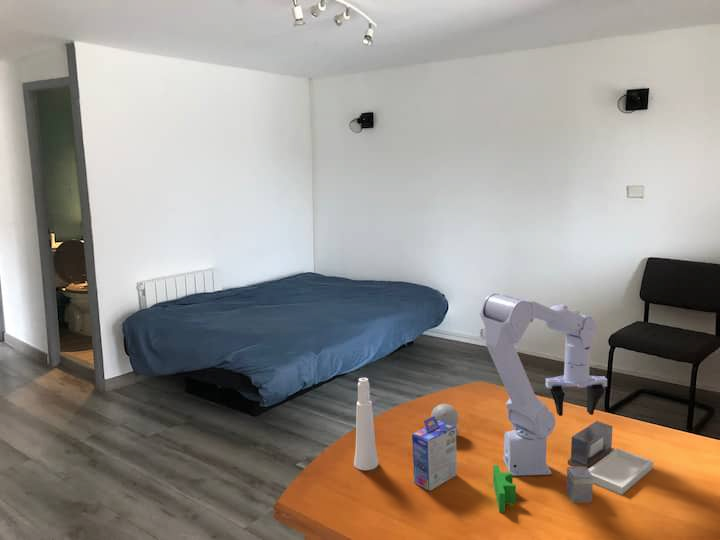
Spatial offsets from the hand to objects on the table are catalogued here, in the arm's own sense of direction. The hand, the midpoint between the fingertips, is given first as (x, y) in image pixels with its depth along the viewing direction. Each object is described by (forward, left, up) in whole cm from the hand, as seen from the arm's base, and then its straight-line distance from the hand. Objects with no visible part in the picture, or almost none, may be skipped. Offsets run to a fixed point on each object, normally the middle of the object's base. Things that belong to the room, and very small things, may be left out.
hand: (574, 413), depth 140 cm
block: (-6, -21, -9) cm, 23 cm away
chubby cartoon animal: (-31, +10, -10) cm, 34 cm away
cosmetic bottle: (-52, -5, -10) cm, 53 cm away
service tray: (+6, -12, -9) cm, 16 cm away
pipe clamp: (-22, -20, -10) cm, 31 cm away
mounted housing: (+3, -5, -9) cm, 11 cm away
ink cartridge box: (-36, -12, -10) cm, 39 cm away
